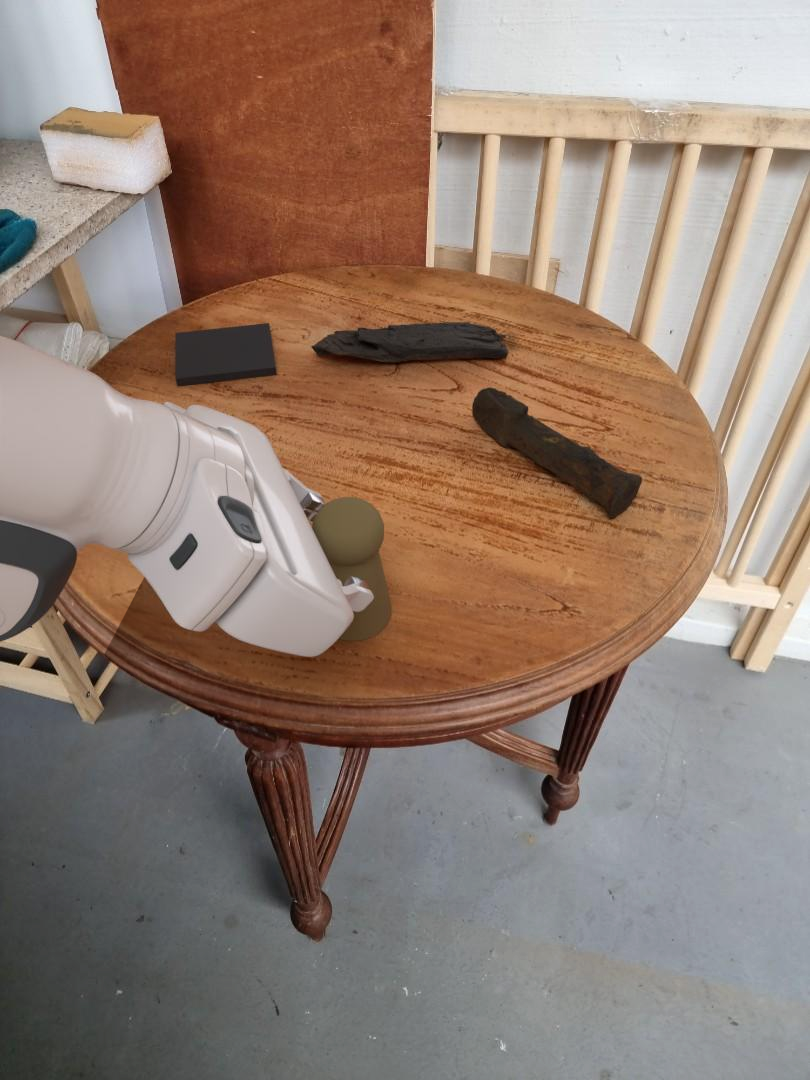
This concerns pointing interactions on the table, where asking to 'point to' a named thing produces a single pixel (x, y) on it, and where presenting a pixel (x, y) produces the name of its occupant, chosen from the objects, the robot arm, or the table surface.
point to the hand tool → (554, 451)
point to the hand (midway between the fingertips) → (341, 550)
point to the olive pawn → (356, 558)
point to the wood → (415, 342)
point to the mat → (224, 354)
